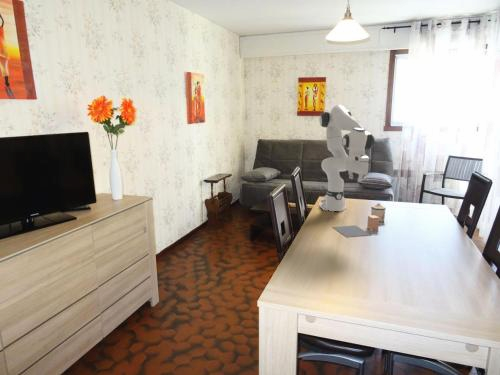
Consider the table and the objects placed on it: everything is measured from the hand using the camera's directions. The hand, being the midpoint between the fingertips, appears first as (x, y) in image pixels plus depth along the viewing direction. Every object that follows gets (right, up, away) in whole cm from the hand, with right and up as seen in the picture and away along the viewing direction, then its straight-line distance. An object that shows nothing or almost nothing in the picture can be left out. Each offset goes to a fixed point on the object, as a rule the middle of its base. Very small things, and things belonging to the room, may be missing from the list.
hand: (355, 180), depth 204 cm
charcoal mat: (0, -31, +7) cm, 31 cm away
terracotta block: (+14, -30, +11) cm, 35 cm away
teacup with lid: (+24, -26, +30) cm, 46 cm away
